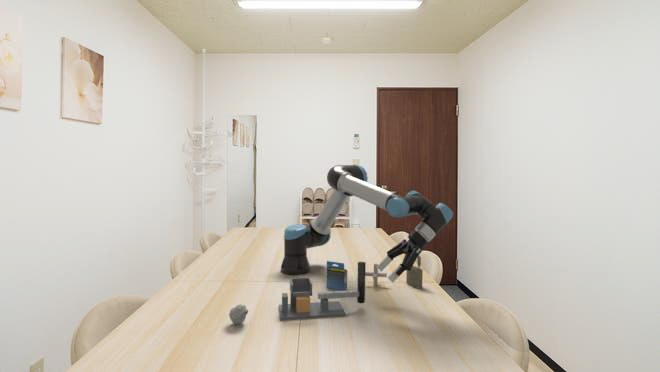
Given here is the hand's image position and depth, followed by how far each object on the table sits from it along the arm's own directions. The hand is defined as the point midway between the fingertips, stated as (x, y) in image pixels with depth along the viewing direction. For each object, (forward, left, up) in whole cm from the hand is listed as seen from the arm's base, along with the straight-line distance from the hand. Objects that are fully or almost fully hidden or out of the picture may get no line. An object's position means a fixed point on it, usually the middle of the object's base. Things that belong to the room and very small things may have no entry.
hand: (384, 274), depth 140 cm
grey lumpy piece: (-45, -32, -13) cm, 57 cm away
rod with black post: (-15, -9, -10) cm, 20 cm away
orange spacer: (-28, -16, -12) cm, 34 cm away
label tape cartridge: (-23, +14, -13) cm, 30 cm away
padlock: (+10, +29, -13) cm, 33 cm away
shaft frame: (-25, -14, -13) cm, 32 cm away
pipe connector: (-7, +23, -13) cm, 27 cm away
